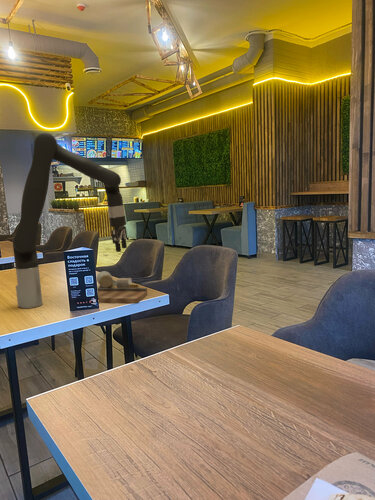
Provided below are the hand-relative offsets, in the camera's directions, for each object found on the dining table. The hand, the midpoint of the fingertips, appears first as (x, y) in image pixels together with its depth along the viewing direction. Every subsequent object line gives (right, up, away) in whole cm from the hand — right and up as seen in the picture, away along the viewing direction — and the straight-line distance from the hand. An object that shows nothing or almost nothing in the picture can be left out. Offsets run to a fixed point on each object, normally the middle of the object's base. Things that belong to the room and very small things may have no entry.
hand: (121, 249), depth 182 cm
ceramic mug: (-10, -19, +17) cm, 28 cm away
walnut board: (-1, -22, -8) cm, 24 cm away
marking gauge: (+3, -20, +5) cm, 21 cm away
